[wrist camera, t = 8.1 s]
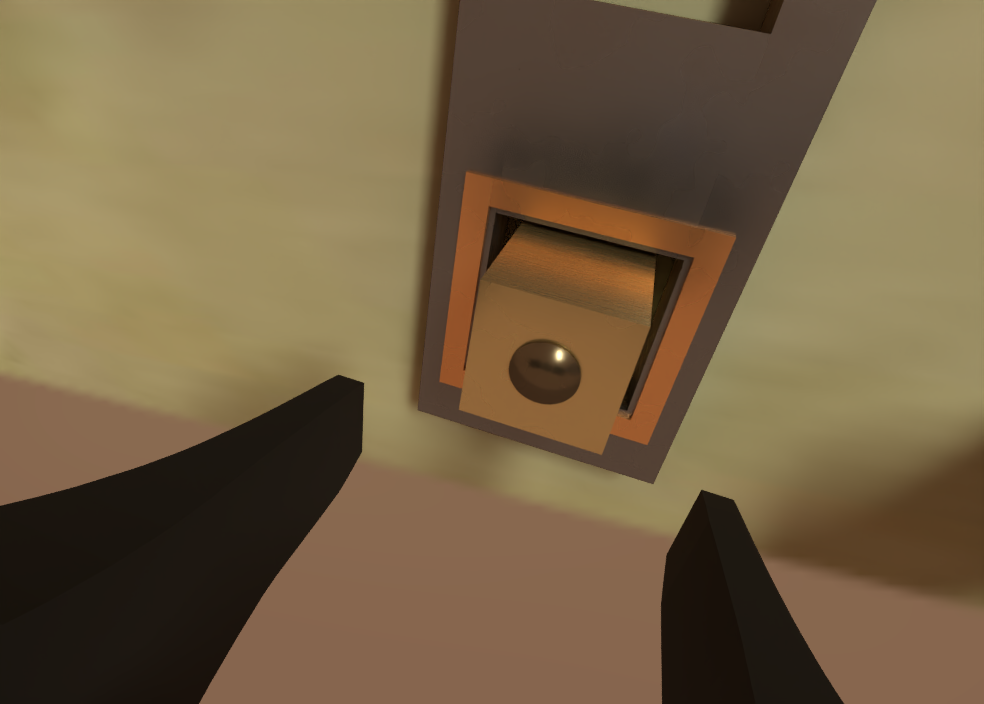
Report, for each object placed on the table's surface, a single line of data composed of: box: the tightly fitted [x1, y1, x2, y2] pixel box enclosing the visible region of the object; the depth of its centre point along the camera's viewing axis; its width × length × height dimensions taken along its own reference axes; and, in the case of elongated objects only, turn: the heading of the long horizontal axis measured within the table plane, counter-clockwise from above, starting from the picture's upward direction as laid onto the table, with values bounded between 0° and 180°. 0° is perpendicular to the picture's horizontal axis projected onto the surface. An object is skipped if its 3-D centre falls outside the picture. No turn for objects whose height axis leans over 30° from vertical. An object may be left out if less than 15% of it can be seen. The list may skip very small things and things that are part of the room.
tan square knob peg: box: [459, 220, 656, 455], centre depth 16 cm, size 4×4×6 cm
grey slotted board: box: [418, 0, 877, 484], centre depth 15 cm, size 9×22×2 cm, turn 170°
